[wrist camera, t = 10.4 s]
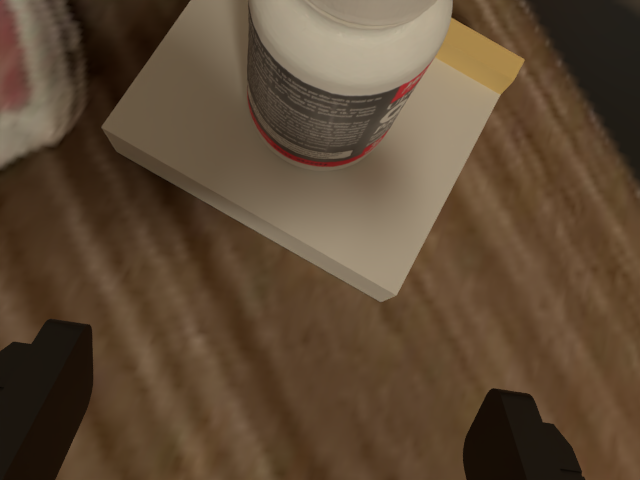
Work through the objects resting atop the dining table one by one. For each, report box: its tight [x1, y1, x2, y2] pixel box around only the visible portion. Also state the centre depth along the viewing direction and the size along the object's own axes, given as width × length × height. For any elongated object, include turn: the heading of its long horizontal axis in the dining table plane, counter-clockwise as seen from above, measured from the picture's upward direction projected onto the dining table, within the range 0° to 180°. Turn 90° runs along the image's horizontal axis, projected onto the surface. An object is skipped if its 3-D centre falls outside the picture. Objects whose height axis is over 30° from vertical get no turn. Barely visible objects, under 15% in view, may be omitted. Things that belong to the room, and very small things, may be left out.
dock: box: [101, 0, 524, 302], centre depth 23 cm, size 12×10×4 cm
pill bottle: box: [247, 0, 453, 171], centre depth 17 cm, size 5×5×10 cm
